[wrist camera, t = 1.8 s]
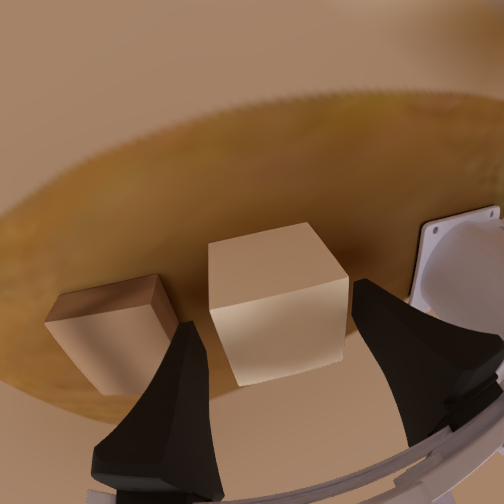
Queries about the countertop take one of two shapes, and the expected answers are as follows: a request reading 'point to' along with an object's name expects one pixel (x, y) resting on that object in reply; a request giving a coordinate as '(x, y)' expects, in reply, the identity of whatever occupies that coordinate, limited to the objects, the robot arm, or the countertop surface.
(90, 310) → the stand
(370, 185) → the countertop surface
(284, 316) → the block
